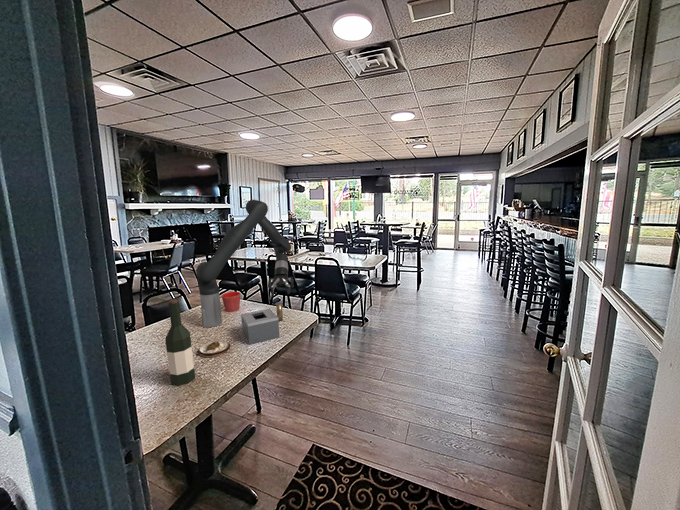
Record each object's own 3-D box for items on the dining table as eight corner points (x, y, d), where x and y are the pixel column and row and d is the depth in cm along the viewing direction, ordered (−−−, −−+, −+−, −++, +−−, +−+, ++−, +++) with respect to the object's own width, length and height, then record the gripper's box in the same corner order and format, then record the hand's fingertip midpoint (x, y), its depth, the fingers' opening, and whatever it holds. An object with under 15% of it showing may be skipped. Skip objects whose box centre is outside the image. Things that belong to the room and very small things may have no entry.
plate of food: (212, 363, 121) (211, 354, 120) (188, 355, 127) (187, 346, 127) (240, 347, 134) (239, 338, 133) (216, 341, 140) (215, 332, 140)
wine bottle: (176, 373, 113) (166, 297, 108) (199, 371, 114) (190, 296, 109) (166, 386, 105) (154, 305, 100) (190, 385, 106) (180, 303, 101)
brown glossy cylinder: (278, 322, 160) (277, 305, 158) (276, 320, 163) (275, 303, 161) (283, 320, 161) (282, 304, 160) (281, 319, 164) (280, 302, 162)
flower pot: (219, 312, 176) (217, 296, 174) (229, 306, 186) (227, 291, 185) (236, 313, 174) (234, 297, 172) (244, 306, 185) (243, 291, 183)
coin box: (249, 345, 135) (247, 324, 133) (242, 333, 147) (240, 314, 145) (279, 337, 141) (278, 317, 140) (270, 327, 153) (269, 308, 152)
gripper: (268, 266, 174) (266, 291, 164) (293, 265, 175) (292, 290, 166) (270, 273, 180) (268, 298, 171) (294, 272, 181) (293, 296, 172)
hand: (280, 294), depth 168 cm, fingers open, 8 cm apart
